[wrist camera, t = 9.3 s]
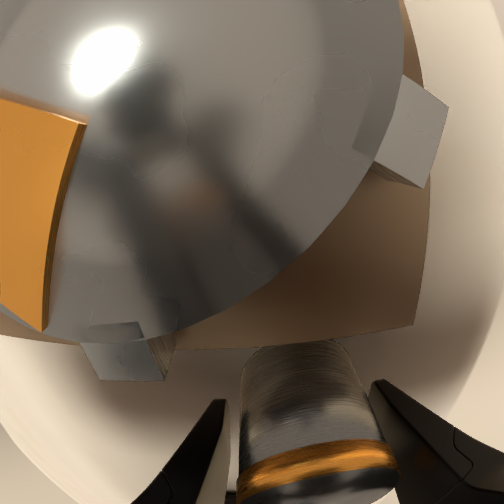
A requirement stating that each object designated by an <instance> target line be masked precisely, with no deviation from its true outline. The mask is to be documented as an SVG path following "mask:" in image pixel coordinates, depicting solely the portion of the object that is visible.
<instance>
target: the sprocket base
mask: <svg viewBox="0 0 504 504" xmlns="http://www.w3.org/2000/svg"><path fill="white" fill-rule="evenodd" d="M398 3H399V8H400V13H401V19H402V25H403V32H404V56H403V75H405V76H406V77H408V78H409V79H411V80H412V81H414V82H415V83H417V84H418V85H420V86H421V87H422V88H424V86H423V80H422V74H421V68H420V63H419V58H418V53H417V48H416V44H415V40H414V36H413V32H412V28H411V24H410V21H409V17H408V14H407V11H406V7H405V4H404V1H403V0H398ZM429 202H430V173H429V176H428V178H427V181H426V184H425V187H424V189H421V188H417V187H413V186H408V185H404V184H400V183H395V182H391V181H387V180H385V179H383V178H382V177H380V176H378V175H376V174H374V173H372V172H370V171H367V172H366V174H365V176H364V177H363V179H362V180H361V182H360V183H359V185H358V187H357V188H356V190H355V191H354V193H353V194H352V196H351V197H350V199H349V201H348V202H347V204H346V205H345V206H344V208H343V209H342V210H341V211H340V212H339V213H338V215H337V216H336V217H335V218H334V219H333V220H332V222H331V223H330V224H329V225H328V226H327V227H326V228H325V230H324V231H323V232H322V233H321V234H320V235H319V236H318V238H317V239H316V240H315V241H314V242H313V243H312V244H311V246H310V247H309V248H307V249H306V250H305V251H304V252H303V253H302V254H301V255H299V256H298V257H297V258H296V259H295V260H294V261H293V262H291V263H290V264H289V265H288V266H287V267H286V268H285V269H283V270H282V271H281V272H280V273H279V274H278V275H276V276H275V277H274V278H273V279H272V280H271V281H269V282H268V283H267V284H265V285H264V286H262V287H260V288H259V289H257V290H256V291H254V292H253V293H251V294H250V295H248V296H247V297H245V298H244V299H242V300H240V301H239V302H237V303H236V304H234V305H233V306H231V307H229V308H228V309H226V310H224V311H222V312H220V313H218V314H216V315H214V316H211V317H209V318H207V319H205V320H203V321H200V322H198V323H196V324H194V325H192V326H189V327H187V328H185V329H182V330H178V331H175V332H173V333H174V335H175V338H176V341H177V344H176V347H175V350H189V349H224V348H244V347H259V346H271V345H283V344H293V343H302V342H311V341H319V340H327V339H334V338H341V337H348V336H354V335H361V334H367V333H372V332H378V331H383V330H389V329H394V328H399V327H404V326H409V325H413V323H414V318H415V314H416V309H417V304H418V299H419V293H420V288H421V282H422V275H423V268H424V261H425V253H426V244H427V233H428V220H429ZM0 334H1V335H6V336H12V337H18V338H24V339H31V340H37V341H45V342H53V343H61V344H71V345H81V344H80V343H79V342H74V341H69V340H64V339H60V338H55V337H51V336H48V335H45V334H43V333H40V332H38V331H35V330H33V329H30V328H28V327H25V326H24V325H22V324H20V323H18V322H17V321H15V320H13V319H11V318H10V317H8V316H6V315H5V314H3V313H2V312H1V311H0Z"/></svg>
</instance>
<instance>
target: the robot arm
mask: <svg viewBox="0 0 504 504" xmlns="http://www.w3.org/2000/svg"><path fill="white" fill-rule="evenodd" d="M368 399H369V402H370V404H371V406H372V409H373V411H374V413H375V416H376V418H377V420H378V423H379V425H380V428H381V430H382V432H383V435H384V437H385V440H386V442H387V444H388V445H389V446H390V447H391V449H392V452H393V454H394V457H395V459H396V462H397V464H398V467H399V469H400V472H401V478H400V480H399V482H398V483H397V485H396V486H395V487H394V488H395V491H396V494H397V497H398V500H399V503H400V504H504V453H503V452H501V451H499V450H496V449H494V448H492V447H490V446H488V445H486V444H484V443H482V442H480V441H478V440H476V439H474V438H472V437H470V436H469V435H467V434H465V433H464V432H462V431H461V430H459V429H458V428H456V427H454V426H453V425H451V424H450V423H448V422H447V421H445V420H444V419H442V418H441V417H439V416H438V415H436V414H435V413H433V412H432V411H430V410H429V409H427V408H426V407H424V406H423V405H422V404H420V403H419V402H417V401H416V400H414V399H413V398H411V397H410V396H408V395H407V394H405V393H404V392H403V391H401V390H400V389H398V388H397V387H395V386H394V385H392V384H391V383H390V382H388V381H387V380H385V379H380V380H376V381H373V383H372V385H371V389H370V393H369V397H368ZM230 452H231V449H230V413H229V408H228V404H227V400H226V399H214V400H213V401H212V402H211V404H210V405H209V406H208V408H207V409H206V411H205V412H204V414H203V415H202V416H201V418H200V419H199V421H198V422H197V423H196V425H195V426H194V427H193V429H192V430H191V432H190V433H189V434H188V436H187V437H186V438H185V440H184V441H183V442H182V444H181V445H180V447H179V448H178V449H177V451H176V452H175V453H174V454H173V456H172V457H171V458H170V460H169V461H168V462H167V464H166V465H165V466H164V468H163V469H162V471H160V473H159V474H158V475H157V476H156V478H155V479H154V480H153V481H152V483H151V484H150V485H149V486H148V487H147V488H146V489H145V490H144V491H143V492H142V493H141V494H140V495H139V496H138V497H137V498H136V499H135V500H134V501H133V502H132V503H131V504H236V495H226V487H227V480H228V472H229V465H230Z"/></svg>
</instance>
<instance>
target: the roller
mask: <svg viewBox="0 0 504 504" xmlns="http://www.w3.org/2000/svg"><path fill="white" fill-rule="evenodd" d="M400 478H401V472H400V469H399V467H398V464H397V462H396V459H395V457H394V454H393V452H392V449H391V447H390V446H389V445H388V444H387V442H386V440H385V437H384V435H383V432H382V430H381V428H380V425H379V423H378V420H377V418H376V416H375V413H374V411H373V409H372V406H371V404H370V402H369V399H368V397H367V395H366V393H365V390H364V388H363V386H362V384H361V381H360V379H359V377H358V375H357V372H356V370H355V368H354V366H353V364H352V361H351V359H350V357H349V355H348V353H347V352H346V350H345V349H344V348H343V347H342V346H341V345H340V344H338V343H337V342H335V341H333V340H331V339H327V340H319V341H311V342H302V343H293V344H283V345H271V346H265V347H263V348H261V349H260V350H259V351H257V352H256V353H255V354H254V355H253V356H252V357H251V358H250V359H249V360H248V362H247V363H246V364H245V366H244V368H243V371H242V374H241V390H240V432H239V476H238V478H237V482H236V504H371V503H373V502H375V501H377V500H378V499H380V498H381V497H383V496H384V495H386V494H387V493H388V492H390V491H391V490H392V489H393V488H394V487H395V486H396V485H397V483H398V482H399V480H400Z"/></svg>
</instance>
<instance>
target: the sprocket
mask: <svg viewBox="0 0 504 504" xmlns="http://www.w3.org/2000/svg"><path fill="white" fill-rule="evenodd" d="M403 56H404V32H403V25H402V19H401V13H400V8H399V3H398V0H0V311H1V312H2V313H3V314H5V315H6V316H8V317H10V318H11V319H13V320H15V321H17V322H18V323H20V324H22V325H24V326H25V327H28V328H30V329H33V330H35V331H38V332H40V333H43V334H45V335H48V336H51V337H55V338H60V339H64V340H69V341H74V342H79V343H80V344H81V346H82V348H83V350H84V352H85V354H86V356H87V358H88V360H89V362H90V363H91V365H92V367H93V369H94V371H95V372H96V374H97V376H98V377H99V379H100V380H110V381H164V379H165V376H166V373H167V370H168V367H169V364H170V361H171V358H172V355H173V353H174V350H175V347H176V344H177V341H176V338H175V335H174V333H173V332H175V331H178V330H182V329H185V328H187V327H189V326H192V325H194V324H196V323H198V322H200V321H203V320H205V319H207V318H209V317H211V316H214V315H216V314H218V313H220V312H222V311H224V310H226V309H228V308H229V307H231V306H233V305H234V304H236V303H237V302H239V301H240V300H242V299H244V298H245V297H247V296H248V295H250V294H251V293H253V292H254V291H256V290H257V289H259V288H260V287H262V286H264V285H265V284H267V283H268V282H269V281H271V280H272V279H273V278H274V277H275V276H276V275H278V274H279V273H280V272H281V271H282V270H283V269H285V268H286V267H287V266H288V265H289V264H290V263H291V262H293V261H294V260H295V259H296V258H297V257H298V256H299V255H301V254H302V253H303V252H304V251H305V250H306V249H307V248H309V247H310V246H311V244H312V243H313V242H314V241H315V240H316V239H317V238H318V236H319V235H320V234H321V233H322V232H323V231H324V230H325V228H326V227H327V226H328V225H329V224H330V223H331V222H332V220H333V219H334V218H335V217H336V216H337V215H338V213H339V212H340V211H341V210H342V209H343V208H344V206H345V205H346V204H347V202H348V201H349V199H350V197H351V196H352V194H353V193H354V191H355V190H356V188H357V187H358V185H359V183H360V182H361V180H362V179H363V177H364V176H365V174H366V172H367V171H370V172H372V173H374V174H376V175H378V176H380V177H382V178H383V179H385V180H387V181H391V182H395V183H400V184H404V185H408V186H413V187H417V188H421V189H424V187H425V184H426V181H427V178H428V176H429V173H430V170H431V167H432V164H433V161H434V158H435V155H436V151H437V148H438V145H439V142H440V138H441V135H442V131H443V128H444V124H445V120H446V116H447V112H448V108H449V107H448V106H446V105H445V104H444V103H443V102H441V101H440V100H439V99H437V98H436V97H435V96H433V95H432V94H431V93H429V92H428V91H427V90H425V89H424V88H422V87H421V86H420V85H418V84H417V83H415V82H414V81H412V80H411V79H409V78H408V77H406V76H405V75H403Z"/></svg>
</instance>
